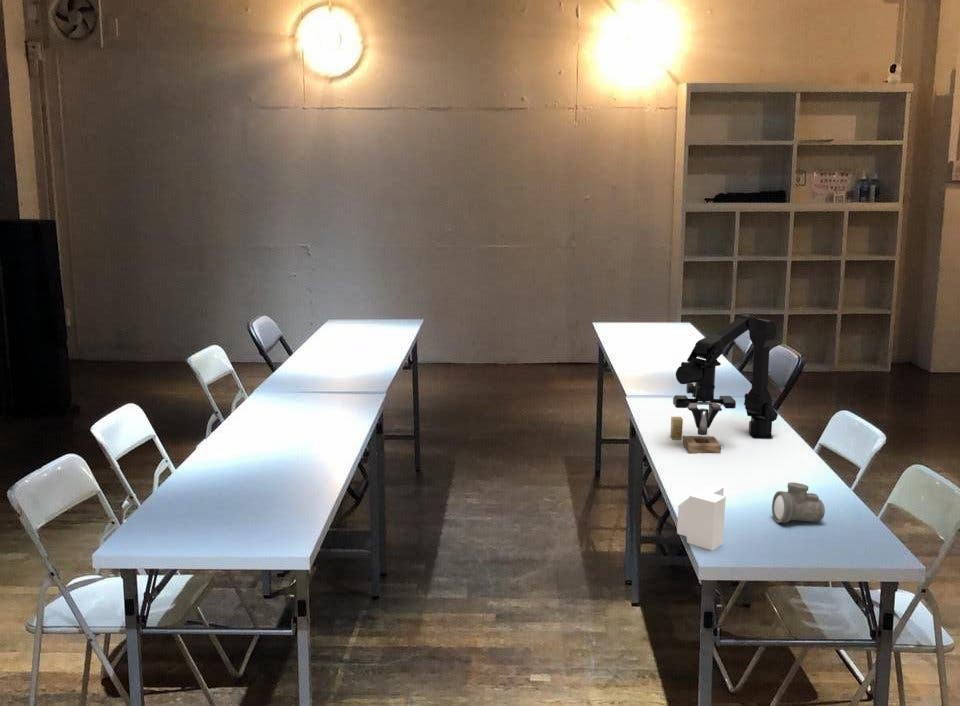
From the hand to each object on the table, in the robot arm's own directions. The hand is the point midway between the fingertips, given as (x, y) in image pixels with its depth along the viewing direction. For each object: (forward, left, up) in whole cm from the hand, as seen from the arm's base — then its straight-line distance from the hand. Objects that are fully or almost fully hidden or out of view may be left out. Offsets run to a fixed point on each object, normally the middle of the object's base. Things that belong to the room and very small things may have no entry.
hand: (702, 427), depth 295 cm
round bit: (0, 0, -2) cm, 2 cm away
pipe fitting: (-12, +60, -7) cm, 62 cm away
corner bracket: (+15, +71, -7) cm, 73 cm away
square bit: (+6, -11, -7) cm, 14 cm away
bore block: (0, 0, -7) cm, 7 cm away
